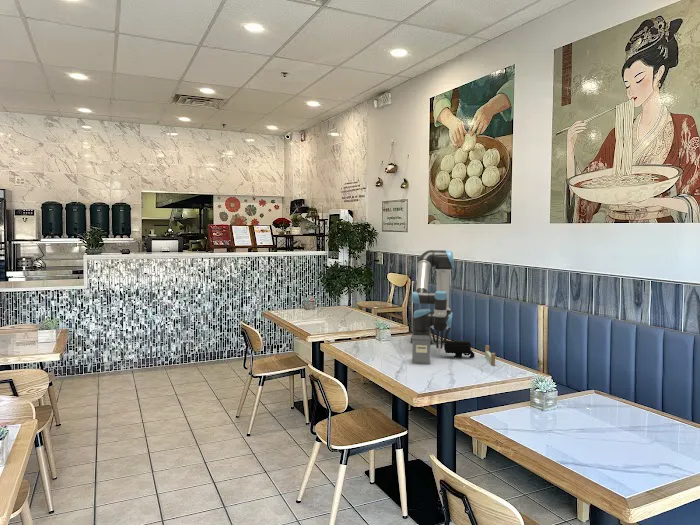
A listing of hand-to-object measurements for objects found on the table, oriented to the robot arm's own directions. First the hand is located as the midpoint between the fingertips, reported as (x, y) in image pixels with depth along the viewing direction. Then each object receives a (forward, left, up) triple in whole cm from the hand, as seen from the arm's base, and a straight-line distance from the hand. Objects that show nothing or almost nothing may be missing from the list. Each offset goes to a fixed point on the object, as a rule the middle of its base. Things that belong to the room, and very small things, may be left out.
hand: (439, 353), depth 326 cm
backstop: (+6, +30, -2) cm, 31 cm away
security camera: (0, +12, -2) cm, 13 cm away
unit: (+13, -12, -2) cm, 18 cm away
